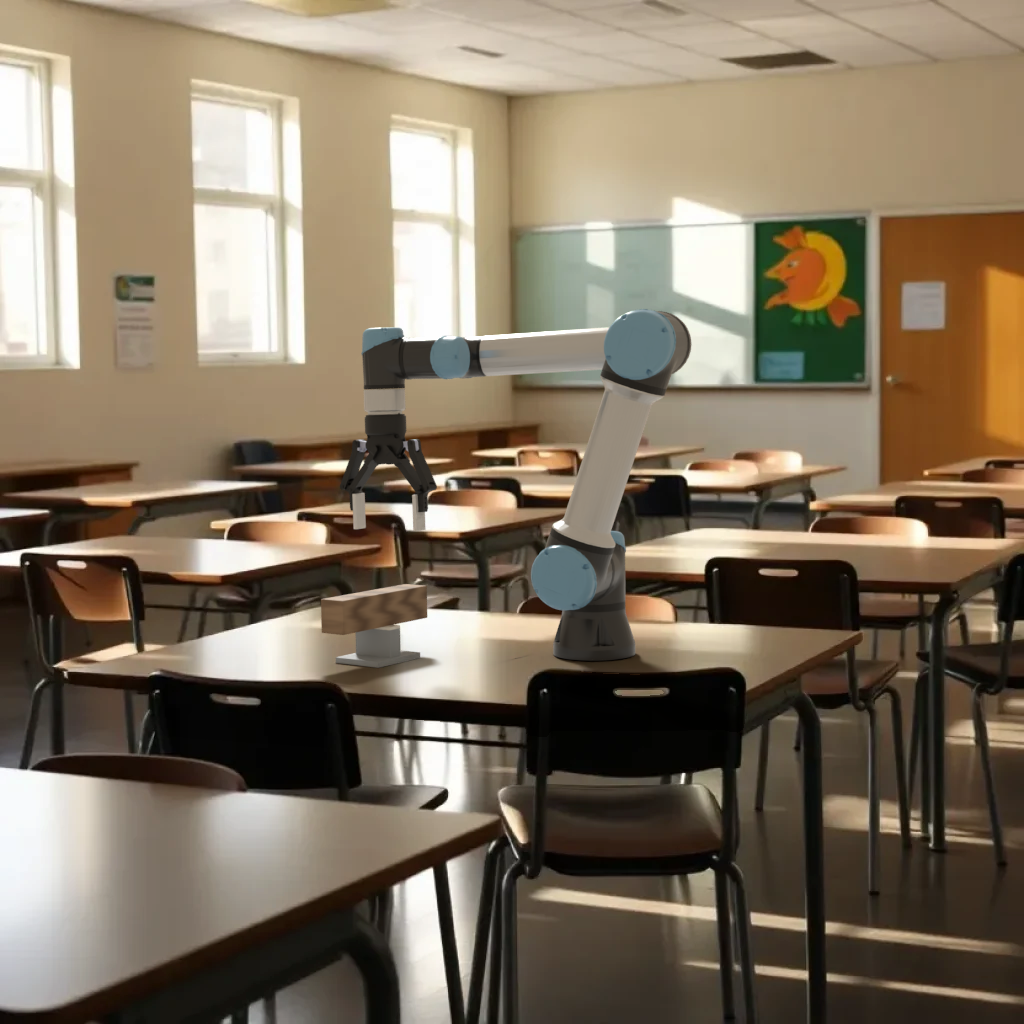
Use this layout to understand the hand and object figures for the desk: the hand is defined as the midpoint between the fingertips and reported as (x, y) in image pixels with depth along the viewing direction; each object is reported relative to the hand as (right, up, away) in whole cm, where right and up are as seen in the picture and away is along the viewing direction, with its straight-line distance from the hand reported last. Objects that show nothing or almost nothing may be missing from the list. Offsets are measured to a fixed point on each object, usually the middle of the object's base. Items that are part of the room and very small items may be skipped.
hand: (389, 529), depth 316 cm
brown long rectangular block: (-2, -17, -2) cm, 17 cm away
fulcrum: (-2, -24, -1) cm, 24 cm away
